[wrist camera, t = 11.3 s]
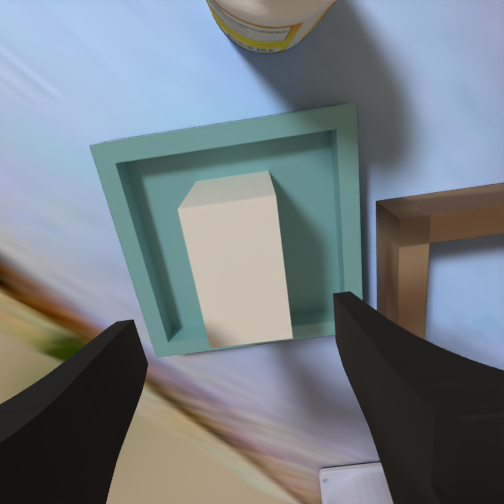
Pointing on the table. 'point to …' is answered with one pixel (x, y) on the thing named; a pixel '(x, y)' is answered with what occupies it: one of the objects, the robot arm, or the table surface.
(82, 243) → the table surface
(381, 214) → the bay
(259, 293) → the cream rectangular block
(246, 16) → the supplement bottle
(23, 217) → the table surface
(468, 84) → the table surface
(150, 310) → the tray
